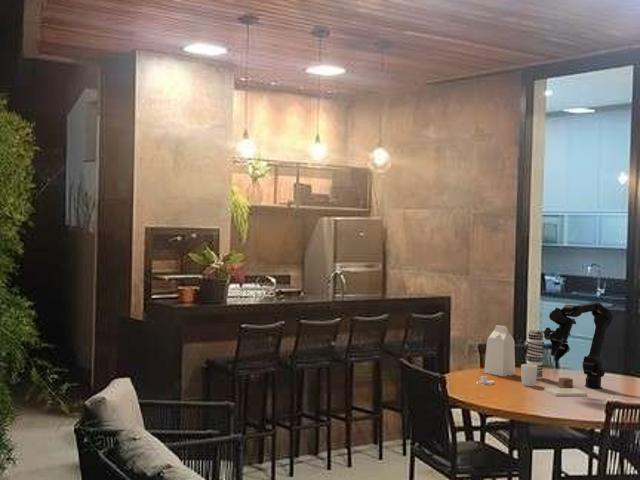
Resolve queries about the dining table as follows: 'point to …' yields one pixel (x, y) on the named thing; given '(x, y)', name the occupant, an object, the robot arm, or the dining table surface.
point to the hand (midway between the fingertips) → (553, 358)
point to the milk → (500, 353)
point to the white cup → (528, 374)
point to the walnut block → (565, 383)
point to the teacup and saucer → (485, 380)
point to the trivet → (565, 392)
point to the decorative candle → (535, 350)
